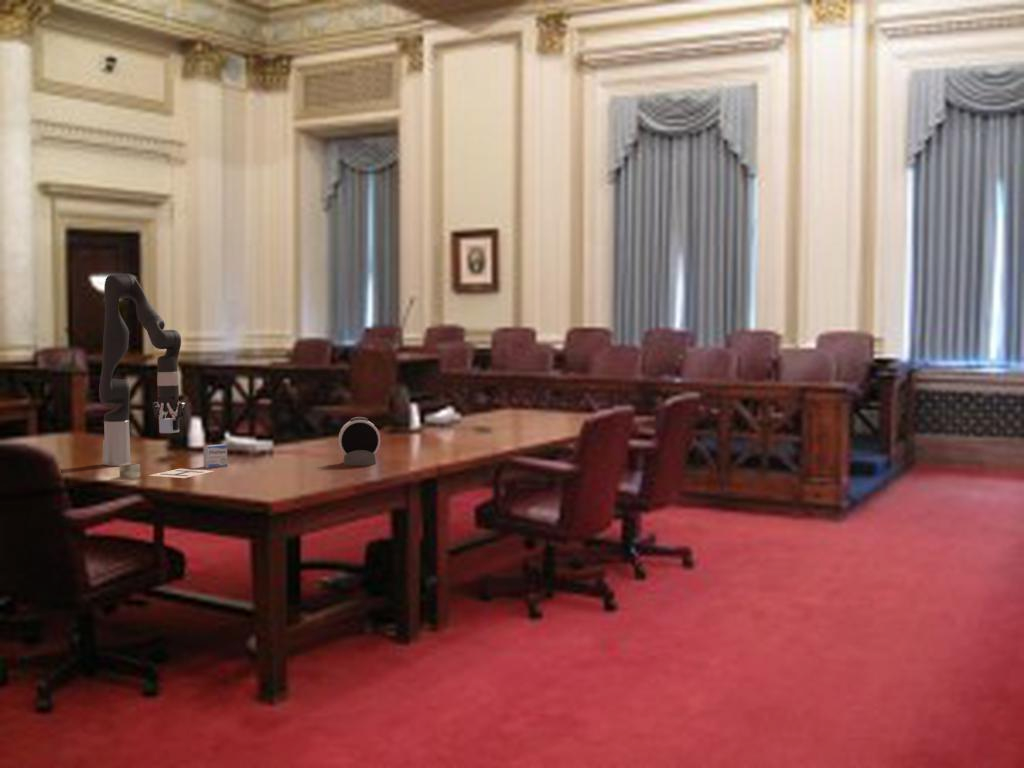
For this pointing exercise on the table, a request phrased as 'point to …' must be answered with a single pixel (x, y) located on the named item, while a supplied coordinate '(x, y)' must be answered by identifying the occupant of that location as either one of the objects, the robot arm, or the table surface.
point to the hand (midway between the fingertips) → (169, 429)
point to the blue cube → (166, 425)
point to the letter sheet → (181, 473)
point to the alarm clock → (359, 442)
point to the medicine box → (215, 456)
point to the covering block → (129, 470)
